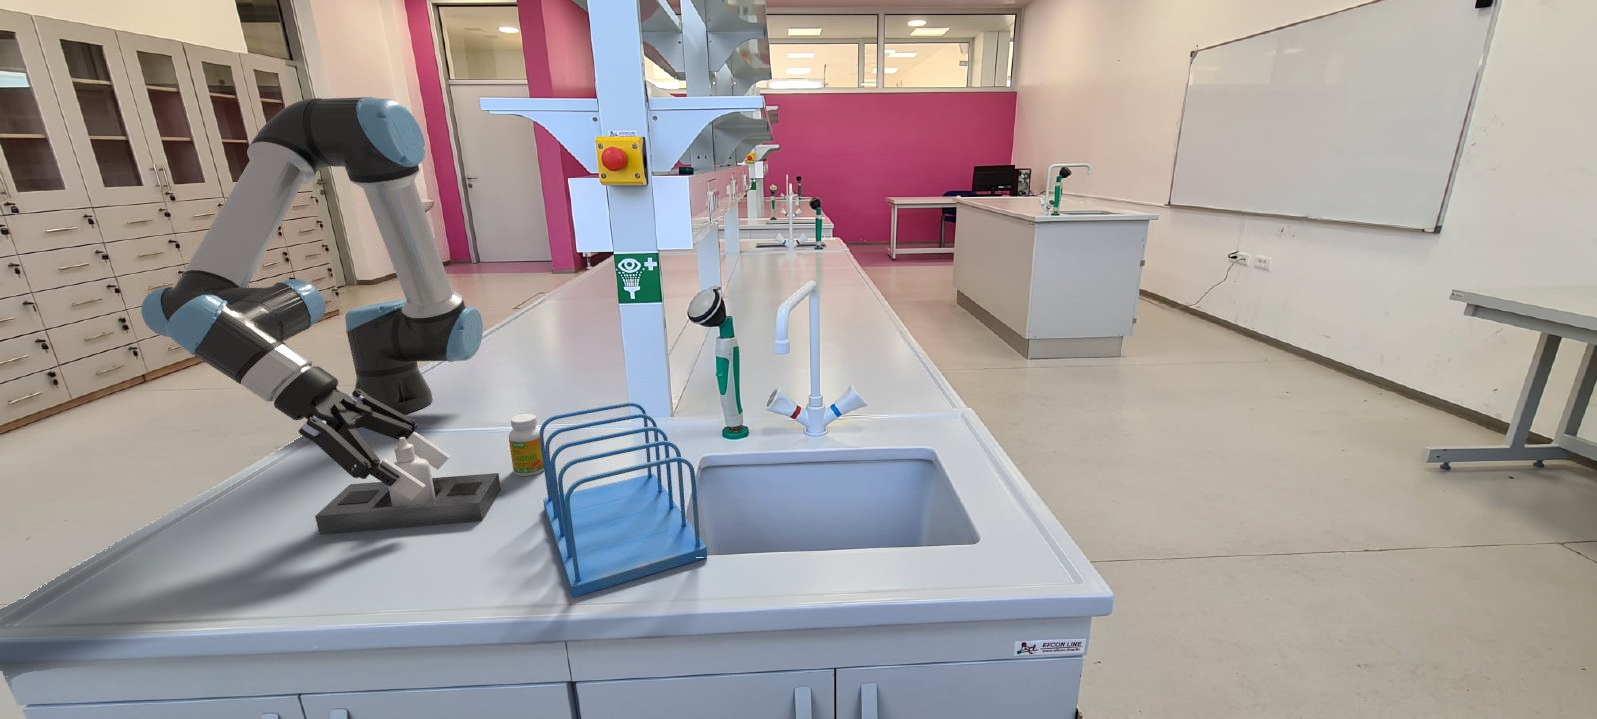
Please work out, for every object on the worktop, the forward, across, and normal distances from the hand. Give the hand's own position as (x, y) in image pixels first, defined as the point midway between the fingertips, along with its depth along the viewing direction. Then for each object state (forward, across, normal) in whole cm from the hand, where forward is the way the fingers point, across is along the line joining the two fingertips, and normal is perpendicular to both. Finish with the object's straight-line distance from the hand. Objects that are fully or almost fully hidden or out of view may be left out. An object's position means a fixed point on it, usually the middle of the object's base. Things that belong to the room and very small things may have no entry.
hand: (432, 477), depth 98 cm
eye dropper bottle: (+2, 0, -6) cm, 6 cm away
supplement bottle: (+12, -12, +4) cm, 17 cm away
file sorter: (+24, +12, +16) cm, 31 cm away
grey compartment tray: (+2, 0, -6) cm, 6 cm away
